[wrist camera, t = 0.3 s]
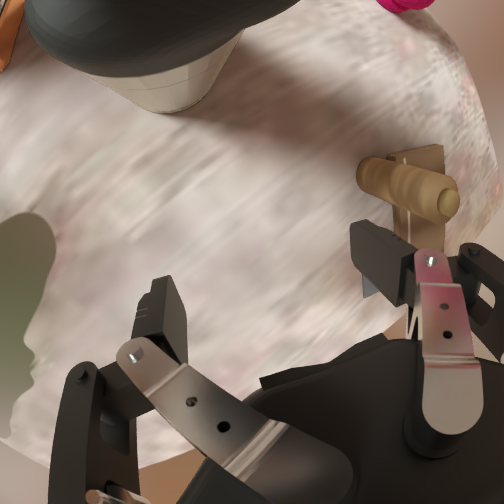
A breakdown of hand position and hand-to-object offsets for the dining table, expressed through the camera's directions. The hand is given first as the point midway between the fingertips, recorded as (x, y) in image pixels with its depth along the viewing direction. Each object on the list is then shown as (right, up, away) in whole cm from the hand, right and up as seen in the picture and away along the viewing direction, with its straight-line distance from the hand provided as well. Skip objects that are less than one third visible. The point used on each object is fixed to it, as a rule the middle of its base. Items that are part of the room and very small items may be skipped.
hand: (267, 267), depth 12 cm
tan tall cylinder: (+14, +10, +19) cm, 25 cm away
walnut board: (+23, +6, +23) cm, 33 cm away
